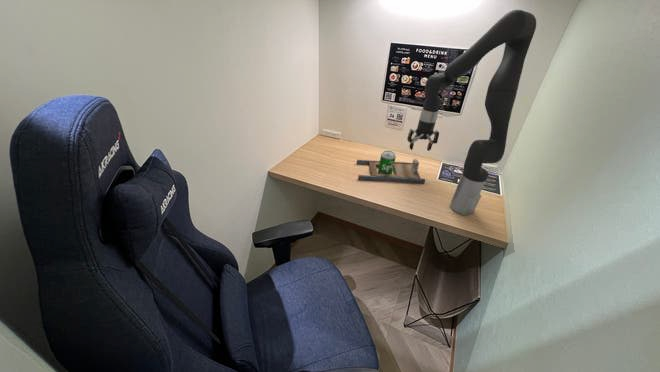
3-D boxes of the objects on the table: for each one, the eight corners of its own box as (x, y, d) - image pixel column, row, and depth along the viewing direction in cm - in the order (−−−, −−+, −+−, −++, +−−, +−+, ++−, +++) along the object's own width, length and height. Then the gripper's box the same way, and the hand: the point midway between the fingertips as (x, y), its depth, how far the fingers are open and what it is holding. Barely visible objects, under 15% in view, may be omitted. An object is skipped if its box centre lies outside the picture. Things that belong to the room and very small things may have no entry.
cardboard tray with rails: (413, 167, 145) (417, 154, 141) (419, 181, 134) (423, 168, 129) (369, 165, 146) (371, 152, 141) (371, 178, 134) (373, 165, 130)
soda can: (376, 174, 139) (379, 154, 132) (380, 168, 144) (384, 148, 137) (389, 178, 136) (393, 158, 129) (393, 171, 141) (398, 152, 135)
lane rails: (416, 166, 147) (417, 163, 146) (424, 183, 133) (425, 179, 131) (356, 163, 147) (357, 159, 146) (358, 180, 133) (358, 176, 132)
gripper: (440, 117, 125) (431, 147, 135) (411, 115, 125) (404, 145, 135) (445, 122, 119) (435, 154, 128) (414, 121, 119) (406, 152, 129)
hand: (419, 149), depth 132 cm, fingers open, 8 cm apart
